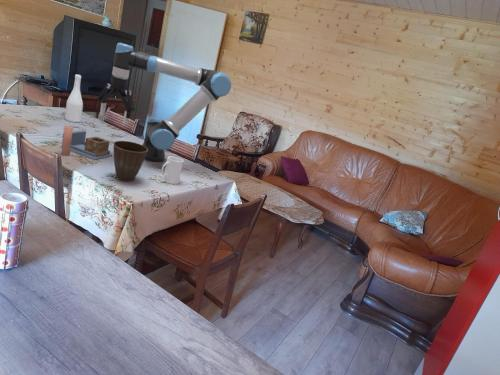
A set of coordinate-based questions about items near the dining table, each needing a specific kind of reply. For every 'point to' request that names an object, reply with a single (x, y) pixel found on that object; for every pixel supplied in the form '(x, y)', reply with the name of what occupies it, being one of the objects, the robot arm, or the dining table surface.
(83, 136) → the rail board
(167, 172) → the mug
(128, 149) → the plant pot
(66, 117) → the wine bottle
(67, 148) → the dowel
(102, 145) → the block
